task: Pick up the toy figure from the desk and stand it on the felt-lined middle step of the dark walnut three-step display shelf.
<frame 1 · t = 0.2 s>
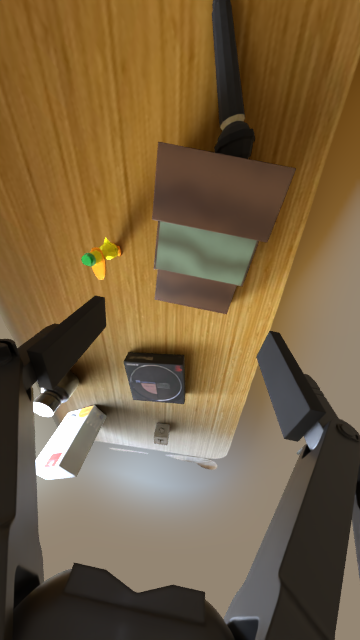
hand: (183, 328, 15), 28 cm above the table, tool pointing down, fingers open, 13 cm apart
dice cube: (163, 426, 74), on the table
microphone: (231, 87, 27), on the table
ink bottle: (67, 377, 65), on the table
toy figure: (117, 251, 41), on the table
hard drive box: (87, 413, 75), on the table
portable cd player: (158, 374, 59), on the table
display shelf: (203, 246, 38), on the table
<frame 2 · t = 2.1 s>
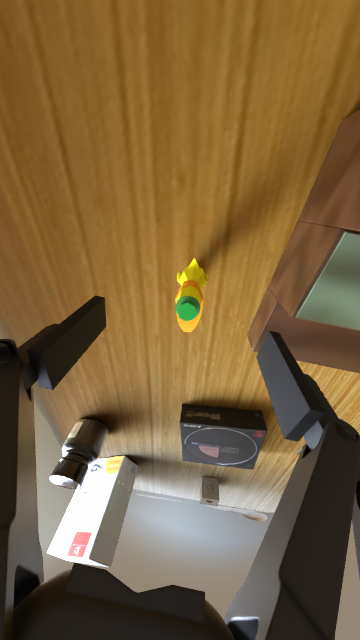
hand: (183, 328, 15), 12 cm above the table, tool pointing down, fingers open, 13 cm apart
dice cube: (209, 480, 59), on the table
ink bottle: (94, 426, 50), on the table
toy figure: (193, 275, 26), on the table
hard drive box: (114, 461, 61), on the table
portable cd player: (218, 428, 44), on the table
display shelf: (346, 269, 23), on the table
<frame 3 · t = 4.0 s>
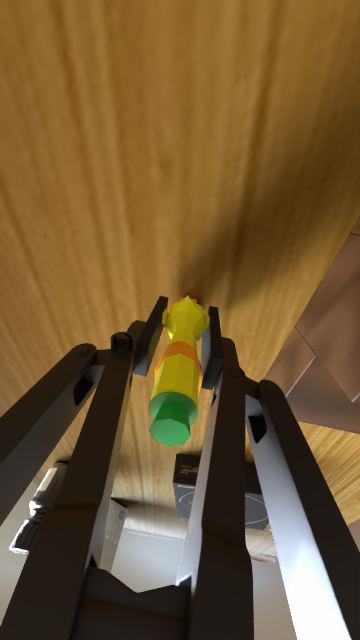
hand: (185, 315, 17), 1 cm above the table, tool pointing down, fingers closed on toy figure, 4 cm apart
ink bottle: (72, 469, 42), on the table
toy figure: (188, 308, 18), on the table, touching gripper
hard drive box: (99, 502, 53), on the table
portable cd player: (220, 479, 36), on the table
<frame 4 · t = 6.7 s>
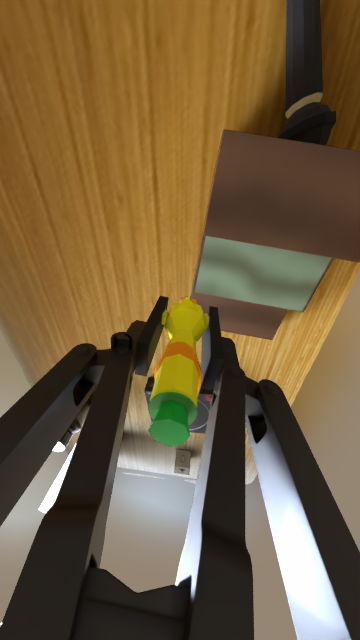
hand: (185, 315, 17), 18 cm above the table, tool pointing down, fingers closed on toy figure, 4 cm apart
dice cube: (183, 453, 67), on the table
microphone: (300, 59, 20), on the table
ink bottle: (79, 403, 59), on the table
toy figure: (187, 308, 18), point 17 cm above the table, touching gripper
hard drive box: (99, 438, 69), on the table
portable cd player: (181, 400, 52), on the table
display shelf: (245, 260, 31), on the table
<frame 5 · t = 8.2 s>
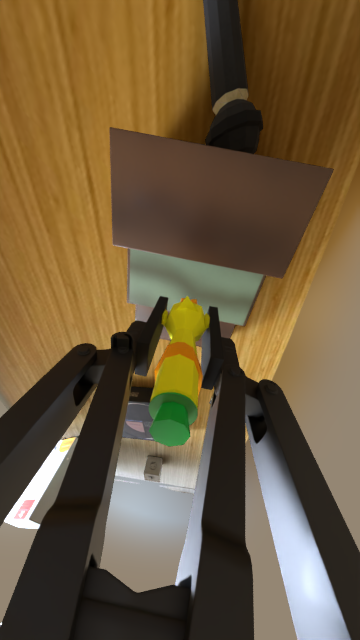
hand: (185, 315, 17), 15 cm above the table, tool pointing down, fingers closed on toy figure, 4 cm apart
dice cube: (155, 459, 66), on the table
microphone: (228, 51, 18), on the table
toy figure: (188, 308, 18), point 14 cm above the table, touching gripper
hard drive box: (70, 444, 67), on the table
portable cd player: (147, 408, 51), on the table
display shelf: (194, 268, 30), on the table
when the fingers open (9 cm above the table, at t = 9.6 s): toy figure stays where it is, resting on display shelf.
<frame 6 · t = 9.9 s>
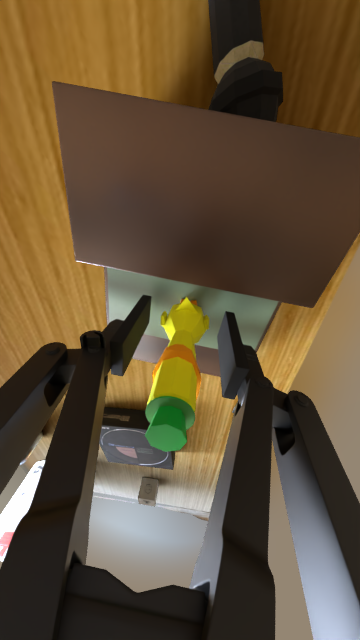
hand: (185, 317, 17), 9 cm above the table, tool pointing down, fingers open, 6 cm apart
dice cube: (150, 480, 61), on the table
ink bottle: (28, 428, 52), on the table
toy figure: (187, 310, 18), point 8 cm above the table, touching display shelf
hard drive box: (59, 463, 62), on the table
portable cd player: (140, 430, 46), on the table
display shelf: (192, 281, 25), on the table
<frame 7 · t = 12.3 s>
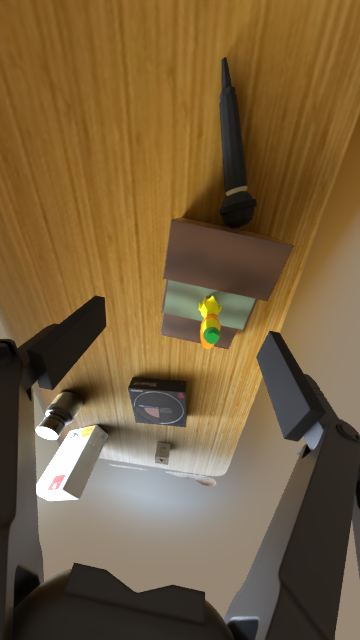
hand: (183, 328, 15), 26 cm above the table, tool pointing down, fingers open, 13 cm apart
dice cube: (164, 445, 75), on the table
microphone: (235, 158, 30), on the table
ink bottle: (71, 398, 66), on the table
toy figure: (208, 303, 33), point 8 cm above the table, touching display shelf
hard drive box: (89, 431, 77), on the table
portable cd player: (161, 397, 61), on the table
display shelf: (207, 287, 40), on the table
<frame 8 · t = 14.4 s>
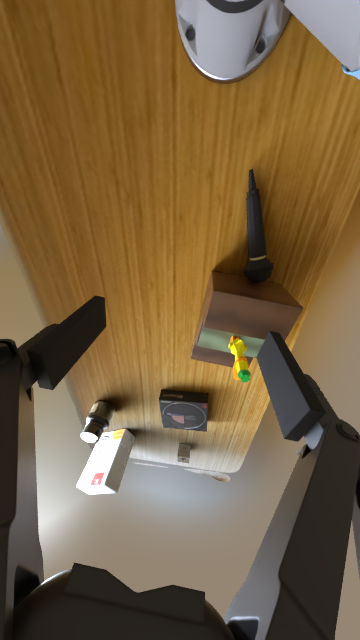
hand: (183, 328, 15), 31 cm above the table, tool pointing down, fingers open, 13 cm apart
dice cube: (184, 446, 85), on the table
microphone: (256, 231, 38), on the table
ink bottle: (105, 406, 76), on the table
toy figure: (234, 339, 42), point 8 cm above the table, touching display shelf
hard drive box: (118, 434, 87), on the table
portable cd player: (185, 406, 70), on the table
display shelf: (230, 321, 49), on the table
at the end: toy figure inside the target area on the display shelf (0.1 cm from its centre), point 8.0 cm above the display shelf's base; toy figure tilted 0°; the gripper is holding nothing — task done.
